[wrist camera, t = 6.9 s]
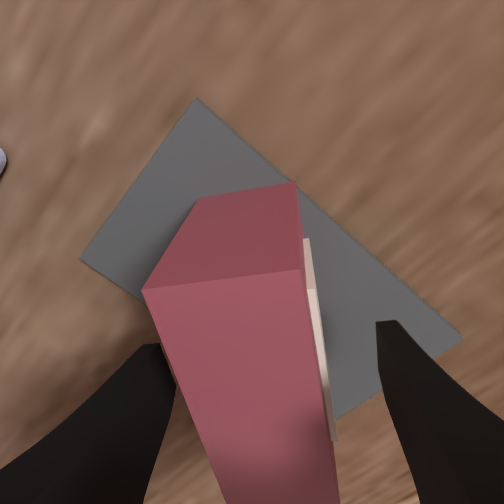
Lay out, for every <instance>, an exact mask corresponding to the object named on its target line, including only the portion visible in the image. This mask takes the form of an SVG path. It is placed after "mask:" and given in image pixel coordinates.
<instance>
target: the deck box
mask: <svg viewBox="0 0 504 504" xmlns="http://www.w3.org/2000/svg"><path fill="white" fill-rule="evenodd" d="M141 291H142V293H143V296H144V298H145V301H146V303H147V306H148V308H149V311H150V313H151V316H152V318H153V321H154V323H155V326H156V328H157V331H158V333H159V336H160V338H161V341H162V343H163V346H164V348H165V351H166V353H167V356H168V358H169V361H170V363H171V366H172V368H173V371H174V373H175V376H176V378H177V381H178V383H179V386H180V388H181V391H182V393H183V396H184V398H185V401H186V403H187V406H188V408H189V411H190V413H191V416H192V418H193V421H194V423H195V426H196V428H197V431H198V433H199V436H200V438H201V441H202V443H203V446H204V448H205V451H206V453H207V456H208V458H209V461H210V463H211V466H212V468H213V471H214V473H215V476H216V478H217V481H218V483H219V486H220V489H221V491H222V494H223V496H224V499H225V501H226V504H340V499H339V491H338V482H337V473H336V465H335V456H334V447H333V441H338V440H337V432H336V424H335V416H334V408H333V400H332V393H331V385H330V377H329V370H328V363H327V356H326V349H325V343H324V336H323V329H322V322H321V316H320V309H319V302H318V295H317V289H316V282H315V275H314V268H313V261H312V255H311V248H310V241H309V238H305V239H304V234H303V227H302V221H301V215H300V208H299V202H298V195H297V189H296V182H289V183H283V184H278V185H272V186H266V187H260V188H254V189H248V190H242V191H237V192H231V193H225V194H219V195H213V196H207V197H201V198H199V199H198V200H197V202H196V204H195V205H194V207H193V208H192V210H191V211H190V213H189V215H188V216H187V218H186V219H185V221H184V223H183V224H182V226H181V227H180V229H179V231H178V232H177V234H176V235H175V237H174V238H173V240H172V242H171V243H170V245H169V246H168V248H167V250H166V251H165V253H164V254H163V256H162V257H161V259H160V261H159V262H158V264H157V265H156V267H155V269H154V270H153V272H152V273H151V275H150V276H149V278H148V280H147V281H146V283H145V284H144V286H143V288H142V289H141Z"/></svg>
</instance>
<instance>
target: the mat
mask: <svg viewBox="0 0 504 504" xmlns="http://www.w3.org/2000/svg"><path fill="white" fill-rule="evenodd" d="M289 182H291V181H290V180H288V179H287V178H286V177H285V176H284V175H283V174H282V173H281V172H280V171H278V170H277V169H276V168H275V167H274V166H273V165H272V164H271V163H270V162H268V161H267V160H266V159H265V158H264V157H263V156H262V155H261V154H259V153H258V152H257V151H256V150H255V149H254V148H253V147H252V146H251V145H249V144H248V143H247V142H246V141H245V140H244V139H243V138H242V137H240V136H239V135H238V134H237V133H236V132H235V131H234V130H233V129H232V128H230V127H229V126H228V125H227V124H226V123H225V122H224V121H223V120H222V119H220V118H219V117H218V116H217V115H216V114H215V113H214V112H213V111H211V110H210V109H209V108H208V107H207V106H206V105H205V104H204V103H203V102H201V101H200V100H199V99H198V98H196V99H194V101H193V102H192V103H191V105H190V106H189V107H188V109H187V110H186V112H185V113H184V114H183V116H182V117H181V118H180V120H179V121H178V123H177V124H176V125H175V127H174V128H173V130H172V131H171V132H170V134H169V135H168V136H167V138H166V139H165V141H164V142H163V143H162V145H161V146H160V147H159V149H158V150H157V152H156V153H155V154H154V156H153V157H152V159H151V160H150V161H149V163H148V164H147V165H146V167H145V168H144V170H143V171H142V172H141V174H140V175H139V176H138V178H137V179H136V181H135V182H134V183H133V185H132V186H131V188H130V189H129V190H128V192H127V193H126V194H125V196H124V197H123V199H122V200H121V201H120V203H119V204H118V206H117V207H116V208H115V210H114V211H113V212H112V214H111V215H110V217H109V218H108V219H107V221H106V222H105V223H104V225H103V226H102V228H101V229H100V230H99V232H98V233H97V235H96V236H95V237H94V239H93V240H92V241H91V243H90V244H89V246H88V247H87V248H86V250H85V251H84V252H83V254H82V255H81V257H80V258H79V259H81V260H82V261H84V262H85V263H86V264H88V265H89V266H91V267H92V268H94V269H95V270H97V271H98V272H99V273H101V274H102V275H104V276H105V277H107V278H108V279H110V280H111V281H112V282H114V283H115V284H117V285H118V286H120V287H121V288H123V289H124V290H125V291H127V292H128V293H130V294H131V295H133V296H134V297H136V298H137V299H138V300H140V301H141V302H143V303H144V304H146V305H147V303H146V301H145V298H144V296H143V293H142V291H141V289H142V288H143V286H144V284H145V283H146V281H147V280H148V278H149V276H150V275H151V273H152V272H153V270H154V269H155V267H156V265H157V264H158V262H159V261H160V259H161V257H162V256H163V254H164V253H165V251H166V250H167V248H168V246H169V245H170V243H171V242H172V240H173V238H174V237H175V235H176V234H177V232H178V231H179V229H180V227H181V226H182V224H183V223H184V221H185V219H186V218H187V216H188V215H189V213H190V211H191V210H192V208H193V207H194V205H195V204H196V202H197V200H198V199H199V198H201V197H207V196H213V195H219V194H225V193H231V192H237V191H242V190H248V189H254V188H260V187H266V186H272V185H278V184H283V183H289ZM296 189H297V195H298V202H299V208H300V215H301V221H302V227H303V234H304V239H305V238H309V241H310V248H311V255H312V261H313V268H314V275H315V282H316V289H317V295H318V302H319V309H320V316H321V322H322V329H323V336H324V343H325V349H326V356H327V363H328V370H329V377H330V385H331V393H332V400H333V408H334V416H335V420H336V419H337V418H339V417H340V416H342V415H344V414H345V413H347V412H348V411H350V410H352V409H353V408H355V407H356V406H358V405H360V404H361V403H363V402H364V401H366V400H368V399H369V398H371V397H372V396H374V395H376V394H377V393H379V392H380V391H382V390H383V389H382V385H381V380H380V376H379V372H378V360H377V342H376V324H375V322H378V321H388V320H397V321H398V322H399V323H400V324H401V325H402V326H403V328H404V329H405V330H406V331H407V332H408V333H409V335H410V336H411V337H412V338H413V339H414V340H415V341H416V342H417V344H418V345H419V346H420V347H421V348H422V349H423V350H424V351H425V352H426V353H427V354H428V355H429V356H430V357H431V358H432V359H433V358H435V357H436V356H438V355H440V354H441V353H443V352H444V351H446V350H448V349H449V348H451V347H452V346H454V345H456V344H457V343H459V342H460V341H462V340H464V339H463V337H462V336H461V334H460V333H459V332H458V331H457V330H456V329H455V328H454V327H453V326H451V325H450V324H449V323H448V322H447V321H446V320H445V319H444V318H443V317H441V316H440V315H439V314H438V313H437V312H436V311H435V310H434V309H432V308H431V307H430V306H429V305H428V304H427V303H426V302H425V301H424V300H422V299H421V298H420V297H419V296H418V295H417V294H416V293H415V292H414V291H412V290H411V289H410V288H409V287H408V286H407V285H406V284H405V283H403V282H402V281H401V280H400V279H399V278H398V277H397V276H396V275H395V274H393V273H392V272H391V271H390V270H389V269H388V268H387V267H386V266H384V265H383V264H382V263H381V262H380V261H379V260H378V259H377V258H376V257H374V256H373V255H372V254H371V253H370V252H369V251H368V250H367V249H366V248H364V247H363V246H362V245H361V244H360V243H359V242H358V241H357V240H355V239H354V238H353V237H352V236H351V235H350V234H349V233H348V232H347V231H345V230H344V229H343V228H342V227H341V226H340V225H339V224H338V223H336V222H335V221H334V220H333V219H332V218H331V217H330V216H329V215H328V214H326V213H325V212H324V211H323V210H322V209H321V208H320V207H319V206H318V205H316V204H315V203H314V202H313V201H312V200H311V199H310V198H309V197H307V196H306V195H305V194H304V193H303V192H302V191H301V190H300V189H299V188H297V187H296Z"/></svg>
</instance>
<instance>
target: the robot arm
mask: <svg viewBox="0 0 504 504" xmlns="http://www.w3.org/2000/svg"><path fill="white" fill-rule="evenodd" d="M5 164H6V156H5V153H4V152H3V150H2V149H1V148H0V174H1V172H2V170H3V169H4V167H5ZM375 324H376V342H377V360H378V372H379V376H380V380H381V385H382V389H383V393H384V397H385V401H386V404H387V407H388V409H389V412H390V415H391V418H392V421H393V423H394V426H395V429H396V432H397V434H398V437H399V440H400V443H401V446H402V448H403V451H404V454H405V457H406V459H407V462H408V465H409V468H410V470H411V473H412V476H413V480H414V483H415V486H416V489H417V493H418V497H419V500H420V504H504V421H503V420H502V419H501V418H499V417H498V416H497V415H495V414H494V413H493V412H492V411H490V410H489V409H488V408H486V407H485V406H484V405H483V404H481V403H480V402H479V401H478V400H476V399H475V398H474V397H473V396H472V395H471V394H469V393H468V392H467V391H466V390H465V389H464V388H462V387H461V386H460V385H459V384H458V383H457V382H456V381H455V380H453V379H452V378H451V377H450V376H449V375H448V374H447V373H446V372H445V371H444V370H443V369H442V368H441V367H440V366H439V365H438V364H437V363H436V362H435V361H434V360H433V359H432V358H431V357H430V356H429V355H428V354H427V353H426V352H425V351H424V350H423V349H422V348H421V347H420V346H419V345H418V344H417V342H416V341H415V340H414V339H413V338H412V337H411V336H410V335H409V333H408V332H407V331H406V330H405V329H404V328H403V326H402V325H401V324H400V323H399V322H398V321H397V320H388V321H378V322H375ZM175 390H176V384H175V381H174V379H173V376H172V374H171V371H170V369H169V366H168V364H167V361H166V359H165V356H164V354H163V351H162V348H161V346H160V343H155V344H145V345H142V346H141V347H140V348H139V349H138V350H137V351H136V352H135V353H134V354H133V355H132V356H131V357H130V358H129V359H128V360H127V361H126V362H125V363H124V364H123V365H122V366H121V367H120V368H119V369H118V370H117V371H116V372H115V373H114V374H113V375H112V376H111V377H110V378H109V379H108V380H107V381H106V382H105V383H104V384H103V385H102V386H101V387H100V388H99V389H98V390H97V391H96V392H95V393H94V394H93V395H92V396H91V397H90V398H89V399H88V400H86V401H85V402H84V403H83V404H82V405H81V406H80V407H79V408H78V409H77V410H76V411H75V412H74V413H73V414H71V415H70V416H69V417H68V418H67V419H66V420H65V421H63V422H62V423H61V424H60V425H59V426H58V427H56V428H55V429H54V430H53V431H51V432H50V433H49V434H48V435H47V436H45V437H44V438H43V439H42V440H40V441H39V442H38V443H36V444H35V445H34V446H32V447H31V448H30V449H28V450H27V451H26V452H24V453H23V454H21V455H20V456H19V457H17V458H16V459H15V460H13V461H12V462H10V463H9V464H8V465H6V466H5V467H3V468H2V469H1V470H0V504H143V501H144V497H145V493H146V490H147V486H148V483H149V480H150V477H151V474H152V471H153V468H154V465H155V462H156V459H157V456H158V453H159V450H160V447H161V444H162V441H163V438H164V435H165V431H166V428H167V425H168V422H169V419H170V416H171V411H172V407H173V402H174V396H175Z"/></svg>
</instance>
